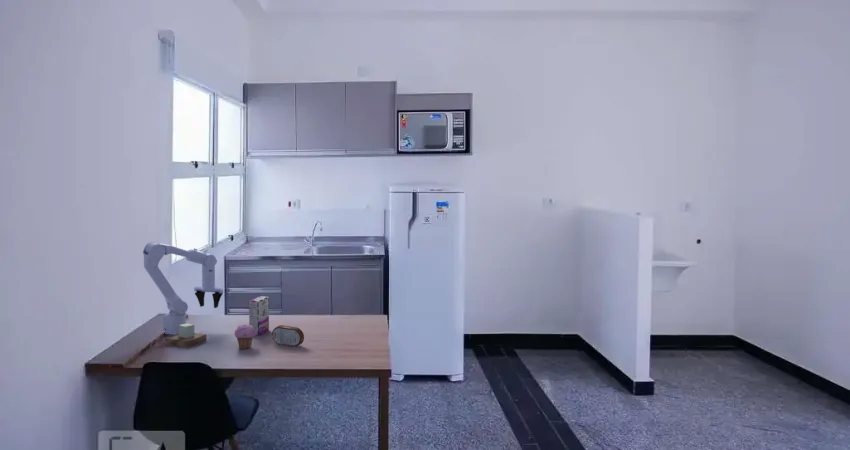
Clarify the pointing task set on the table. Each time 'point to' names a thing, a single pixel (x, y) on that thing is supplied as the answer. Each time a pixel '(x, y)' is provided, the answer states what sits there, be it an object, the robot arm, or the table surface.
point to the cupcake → (245, 335)
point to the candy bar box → (259, 314)
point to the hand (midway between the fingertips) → (208, 306)
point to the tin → (288, 335)
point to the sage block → (186, 330)
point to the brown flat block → (185, 340)
